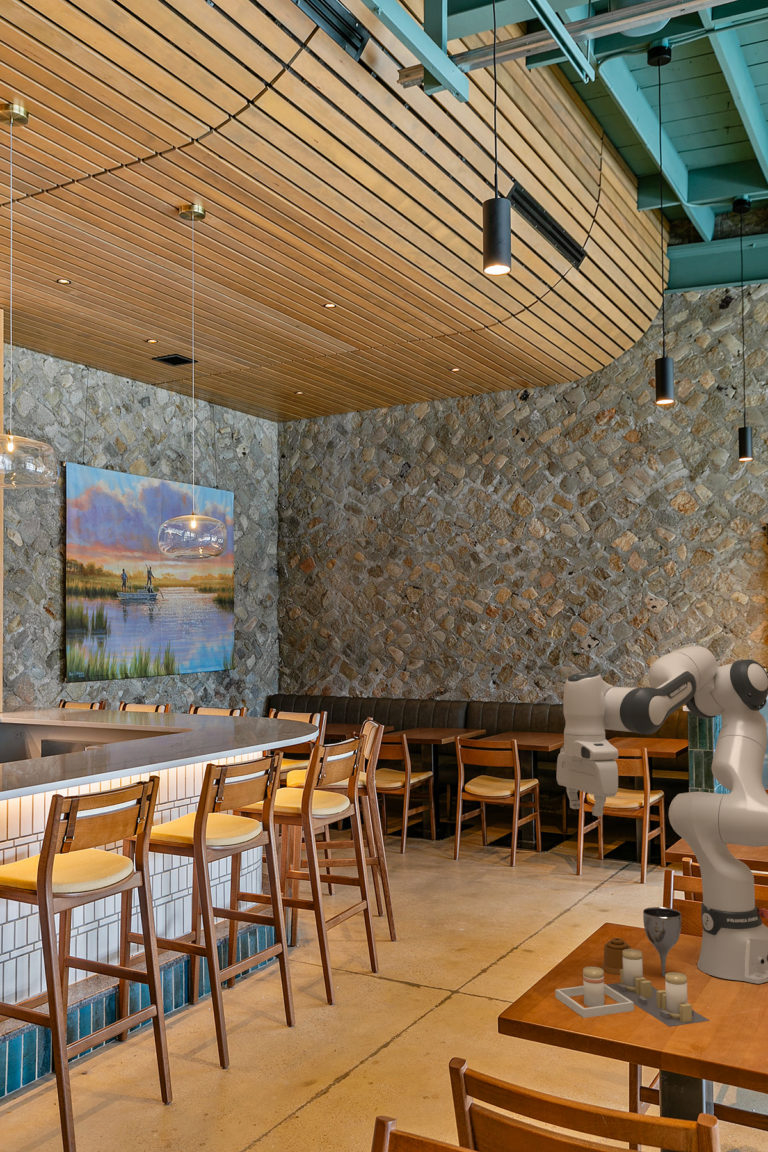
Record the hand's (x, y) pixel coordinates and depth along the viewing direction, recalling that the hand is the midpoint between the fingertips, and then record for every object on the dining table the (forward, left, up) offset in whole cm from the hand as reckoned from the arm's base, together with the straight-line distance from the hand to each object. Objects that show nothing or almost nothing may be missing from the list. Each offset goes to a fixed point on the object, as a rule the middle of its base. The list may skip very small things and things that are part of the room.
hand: (586, 812), depth 202 cm
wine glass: (-17, +2, -37) cm, 41 cm away
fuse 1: (-7, +6, -36) cm, 37 cm away
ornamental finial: (-10, -5, -37) cm, 39 cm away
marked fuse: (+5, +11, -37) cm, 39 cm away
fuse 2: (-7, +21, -36) cm, 42 cm away
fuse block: (-7, +14, -37) cm, 40 cm away
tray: (+5, +11, -37) cm, 39 cm away
